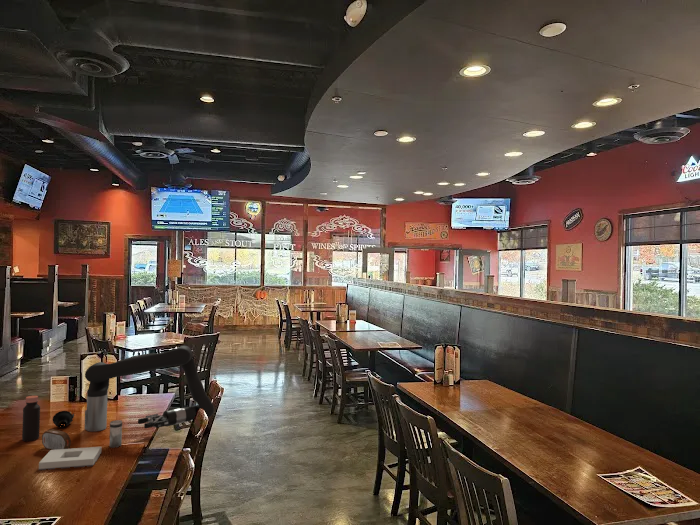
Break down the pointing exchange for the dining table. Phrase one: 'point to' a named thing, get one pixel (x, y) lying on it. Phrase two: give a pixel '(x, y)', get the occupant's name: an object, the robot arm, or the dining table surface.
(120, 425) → the canister
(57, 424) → the fried shrimp in bowl
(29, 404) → the bottle
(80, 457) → the block
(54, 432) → the tin
